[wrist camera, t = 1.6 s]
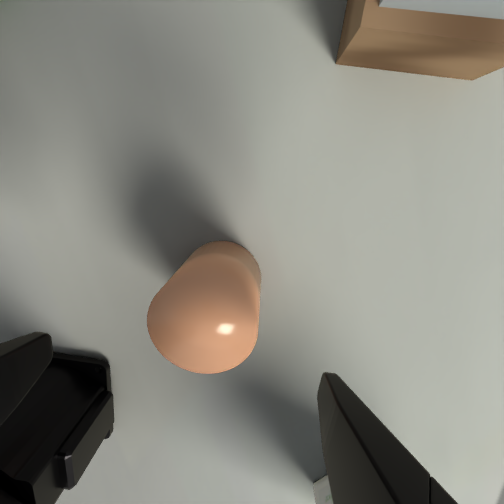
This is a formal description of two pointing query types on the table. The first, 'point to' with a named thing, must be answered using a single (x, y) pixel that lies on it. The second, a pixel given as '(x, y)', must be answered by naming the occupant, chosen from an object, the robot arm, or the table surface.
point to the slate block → (451, 7)
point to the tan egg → (208, 309)
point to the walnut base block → (420, 41)
